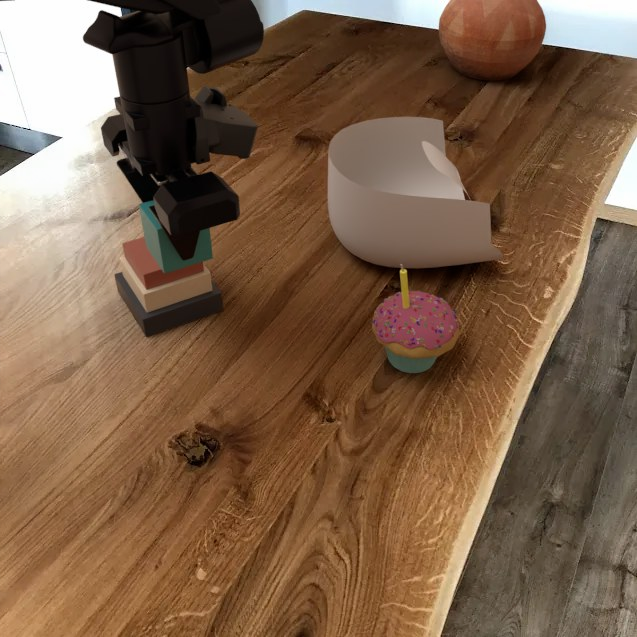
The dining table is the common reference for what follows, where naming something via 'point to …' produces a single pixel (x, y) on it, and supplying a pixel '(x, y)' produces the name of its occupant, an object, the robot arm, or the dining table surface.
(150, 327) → the stack
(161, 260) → the toy cube
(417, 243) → the bowl
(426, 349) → the cupcake
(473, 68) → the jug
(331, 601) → the dining table surface
